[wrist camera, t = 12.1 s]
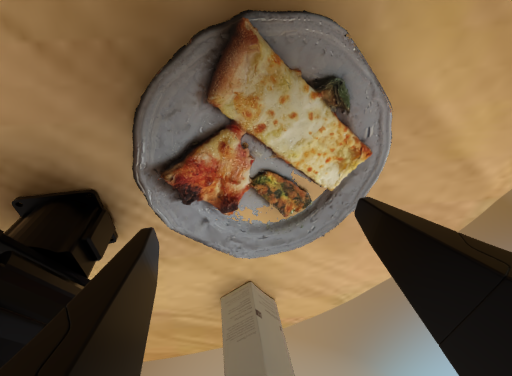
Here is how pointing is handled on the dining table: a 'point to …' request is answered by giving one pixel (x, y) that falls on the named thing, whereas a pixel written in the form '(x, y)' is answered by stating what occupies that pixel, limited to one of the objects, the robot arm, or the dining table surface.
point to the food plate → (261, 131)
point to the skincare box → (253, 335)
